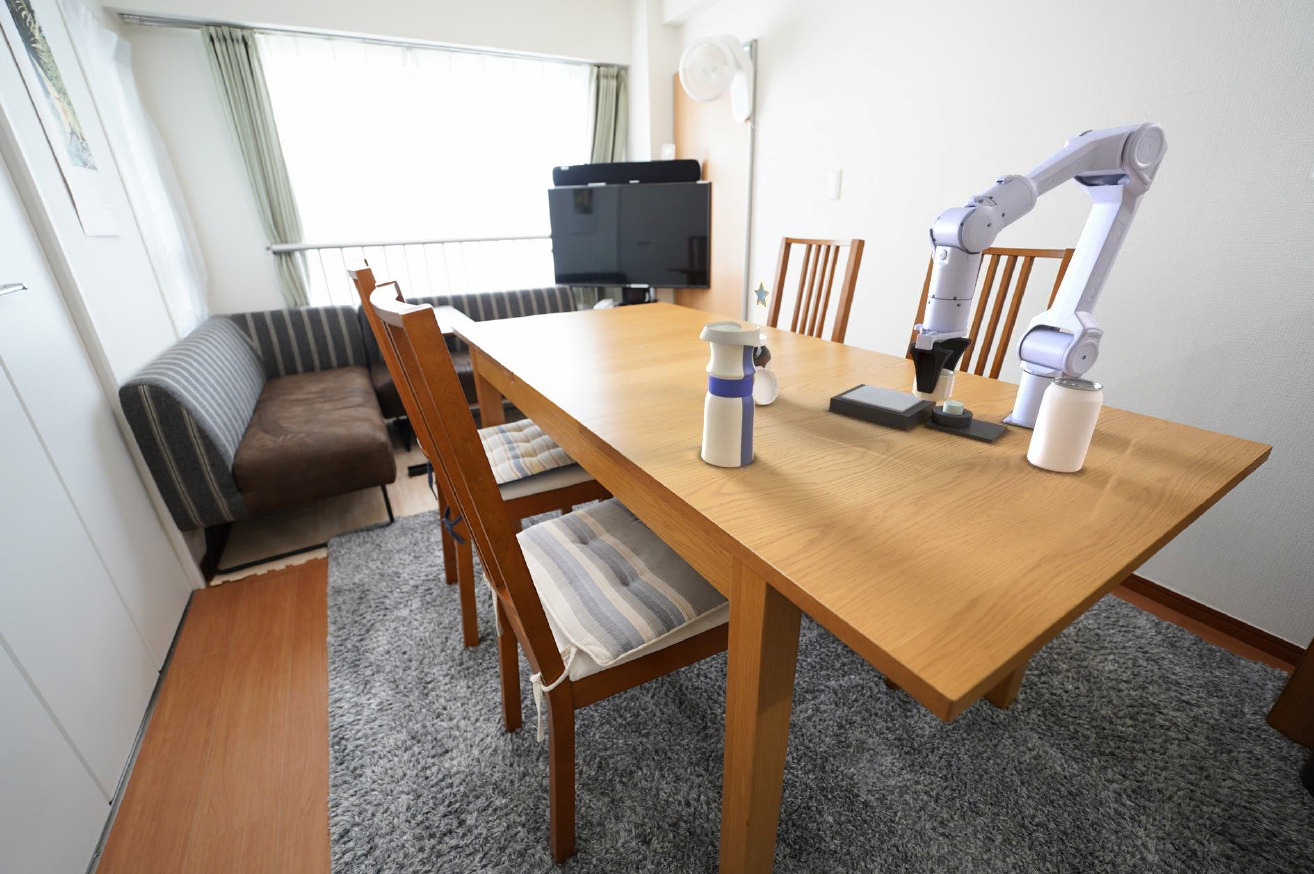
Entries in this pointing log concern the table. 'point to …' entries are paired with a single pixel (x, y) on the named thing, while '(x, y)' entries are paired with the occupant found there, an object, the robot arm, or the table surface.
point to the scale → (882, 406)
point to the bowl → (938, 387)
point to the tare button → (953, 407)
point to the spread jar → (764, 375)
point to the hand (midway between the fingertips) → (932, 387)
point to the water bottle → (730, 392)
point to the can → (1065, 424)
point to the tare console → (965, 425)
